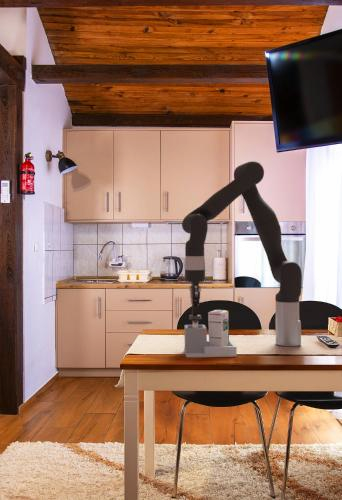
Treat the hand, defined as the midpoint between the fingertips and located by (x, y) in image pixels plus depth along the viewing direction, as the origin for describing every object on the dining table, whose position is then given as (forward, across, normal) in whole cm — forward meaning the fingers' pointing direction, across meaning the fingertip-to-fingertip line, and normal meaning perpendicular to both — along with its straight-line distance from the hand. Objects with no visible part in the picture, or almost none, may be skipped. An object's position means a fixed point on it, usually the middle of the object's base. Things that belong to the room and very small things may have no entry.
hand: (195, 315), depth 175 cm
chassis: (+14, 0, -5) cm, 15 cm away
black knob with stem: (+8, 0, 0) cm, 8 cm away
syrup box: (+13, 0, -9) cm, 16 cm away
